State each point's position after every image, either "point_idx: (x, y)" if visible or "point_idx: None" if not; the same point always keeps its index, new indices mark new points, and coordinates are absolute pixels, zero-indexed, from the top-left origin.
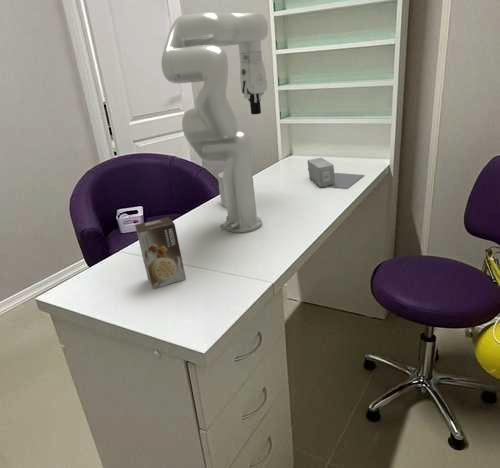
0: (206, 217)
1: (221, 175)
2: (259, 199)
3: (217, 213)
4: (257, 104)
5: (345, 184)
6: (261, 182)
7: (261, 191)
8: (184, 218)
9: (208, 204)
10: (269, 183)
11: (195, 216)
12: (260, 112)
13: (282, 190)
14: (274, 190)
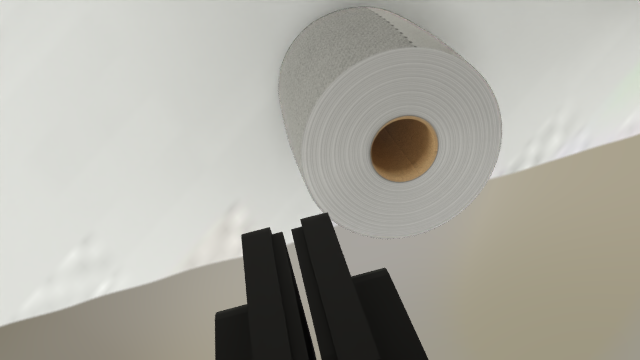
0: (574, 51)
1: (467, 179)
2: (258, 17)
3: (515, 48)
4: (366, 331)
5: None
6: (48, 229)
7: (156, 111)
8: (617, 127)
9: None
10: (27, 179)
11: (582, 106)
12: (258, 233)
13: (61, 13)
14: (94, 58)
